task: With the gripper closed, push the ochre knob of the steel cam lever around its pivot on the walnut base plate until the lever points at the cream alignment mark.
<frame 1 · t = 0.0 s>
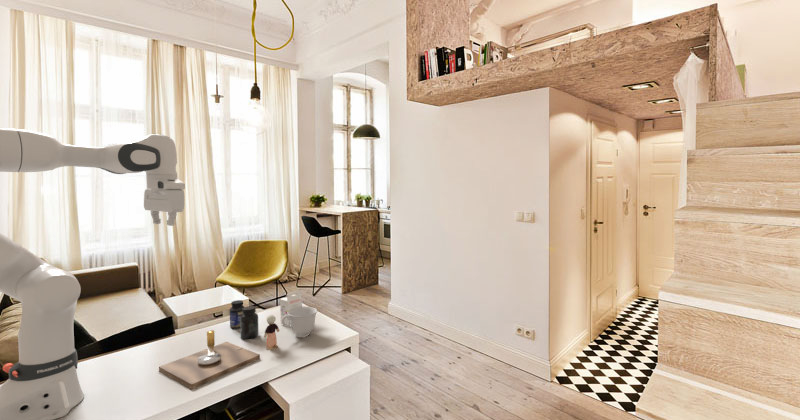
hand: (163, 224, 126), 48 cm above the table, tool pointing down, fingers open, 8 cm apart
cam lever: (209, 347, 130), point 5 cm above the table, hinge at 60.0°
supplement bottle: (249, 337, 152), on the table
ink cartridge box: (291, 323, 167), on the table
base plate: (211, 364, 128), on the table
pill bottle: (237, 327, 163), on the table
teacup: (299, 336, 153), on the table
grandmother figurine: (271, 348, 141), on the table
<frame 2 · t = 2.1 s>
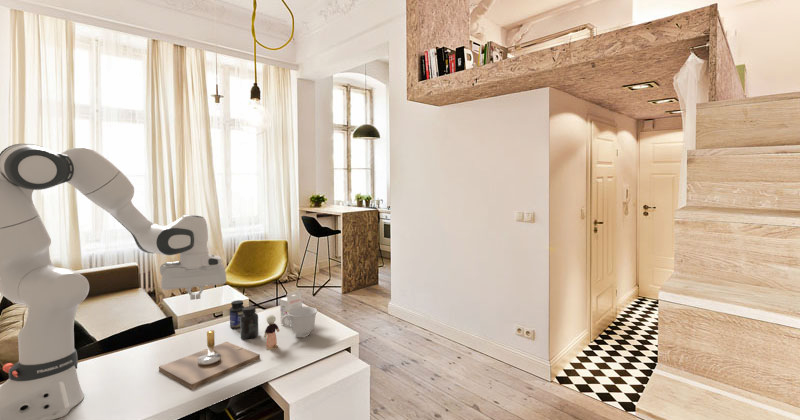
hand: (195, 298, 132), 21 cm above the table, tool pointing down, fingers closed
nothing on the table moved.
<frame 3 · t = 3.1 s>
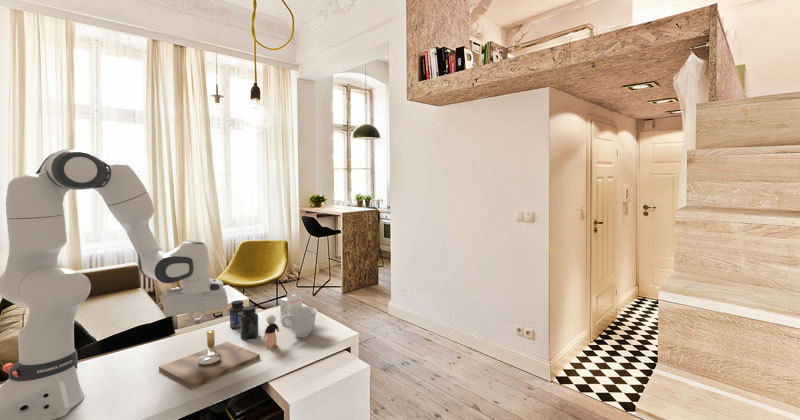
hand: (197, 323, 133), 12 cm above the table, tool pointing down, fingers closed
nothing on the table moved.
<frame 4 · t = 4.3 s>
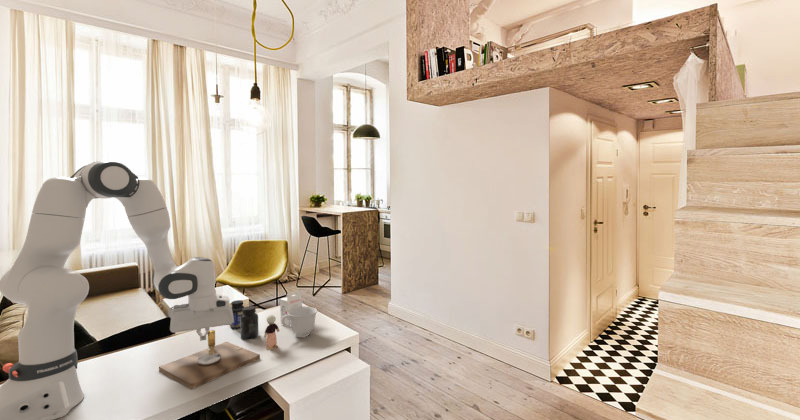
hand: (203, 339, 134), 6 cm above the table, tool pointing down, fingers closed
cam lever: (209, 347, 130), point 5 cm above the table, hinge at 58.5°, touching gripper
everything else where it was.
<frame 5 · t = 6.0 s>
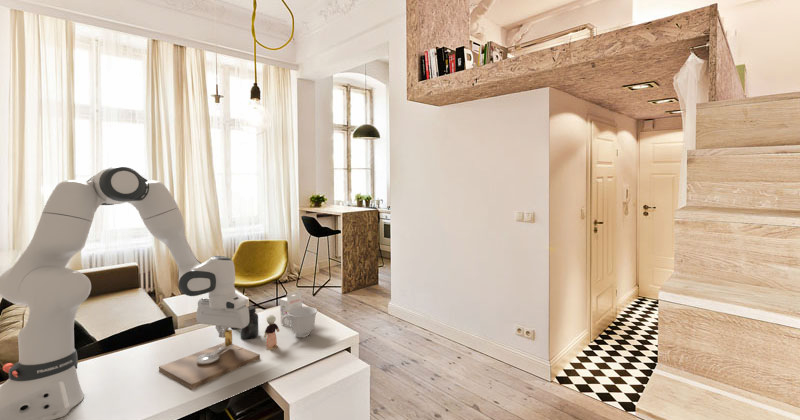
hand: (222, 337, 137), 6 cm above the table, tool pointing down, fingers closed
cam lever: (215, 346, 130), point 5 cm above the table, hinge at 19.8°, touching gripper
everything else where it was.
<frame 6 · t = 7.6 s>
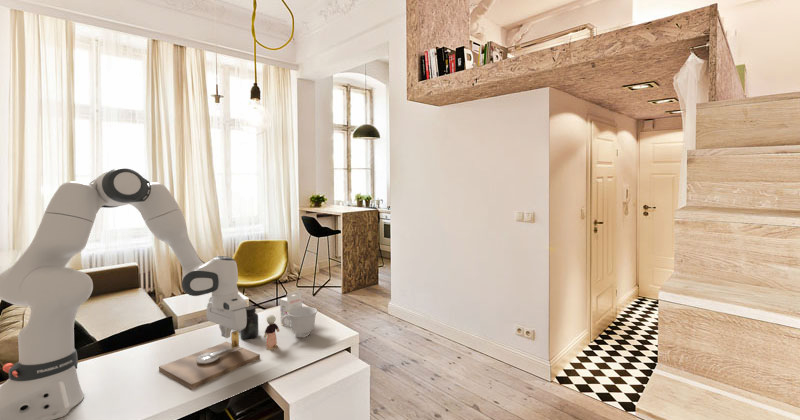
hand: (226, 336, 138), 6 cm above the table, tool pointing down, fingers closed
cam lever: (218, 346, 130), point 5 cm above the table, hinge at -0.6°
everything else where it was.
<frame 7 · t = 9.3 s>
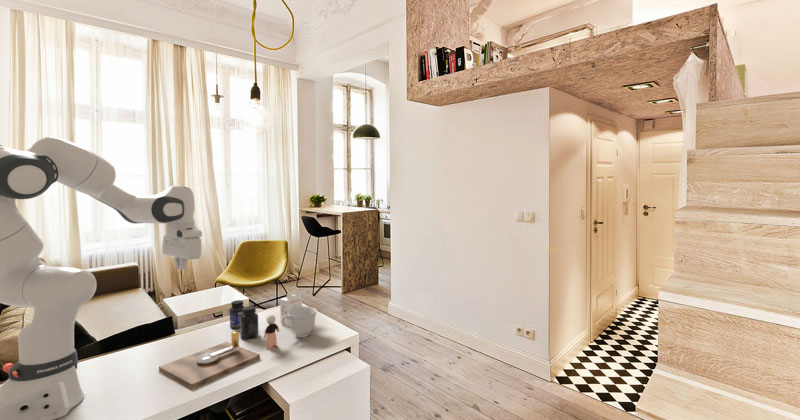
hand: (181, 269, 134), 31 cm above the table, tool pointing down, fingers closed
nothing on the table moved.
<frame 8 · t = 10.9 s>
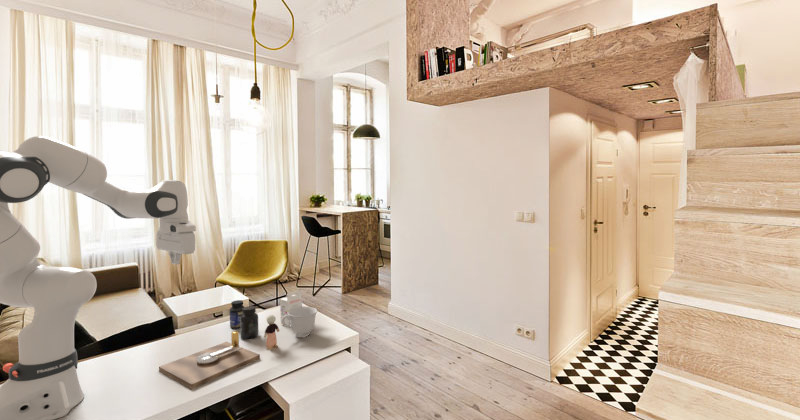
hand: (175, 264, 134), 33 cm above the table, tool pointing down, fingers closed
nothing on the table moved.
at the end: cam lever at -1° (first picture: +60°); grandmother figurine moved 0.2 cm from its start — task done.
